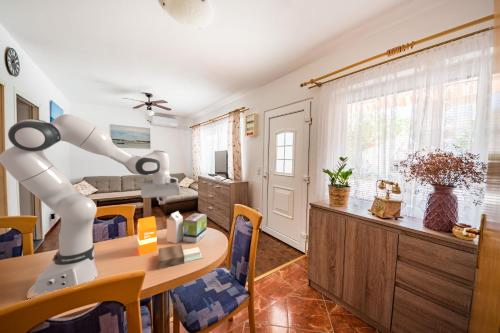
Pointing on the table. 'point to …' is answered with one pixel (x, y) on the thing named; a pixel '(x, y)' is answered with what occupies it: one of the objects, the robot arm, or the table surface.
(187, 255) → the beige flat block
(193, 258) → the mat
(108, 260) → the table surface
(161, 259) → the block
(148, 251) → the orange juice
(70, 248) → the robot arm
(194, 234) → the tea box
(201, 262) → the table surface
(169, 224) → the milk carton
